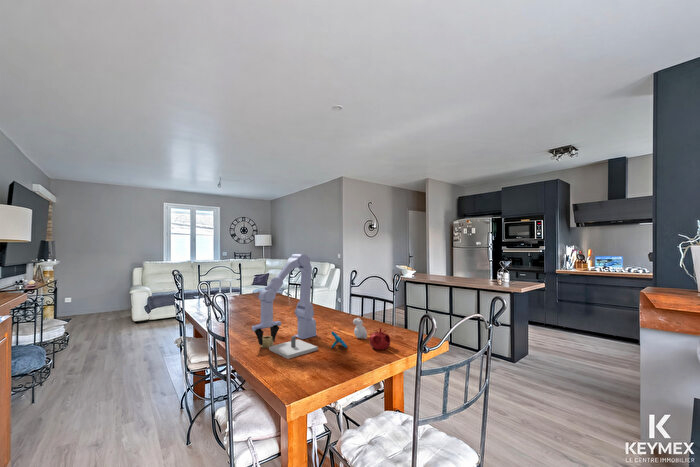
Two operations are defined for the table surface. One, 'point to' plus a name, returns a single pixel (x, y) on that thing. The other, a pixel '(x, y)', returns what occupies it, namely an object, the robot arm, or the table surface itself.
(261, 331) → the robot arm
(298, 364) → the table surface
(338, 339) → the blue branched piece
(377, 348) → the pomegranate
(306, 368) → the table surface
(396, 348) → the table surface
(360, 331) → the white animal figurine
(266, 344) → the ring
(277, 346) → the grey peg base
